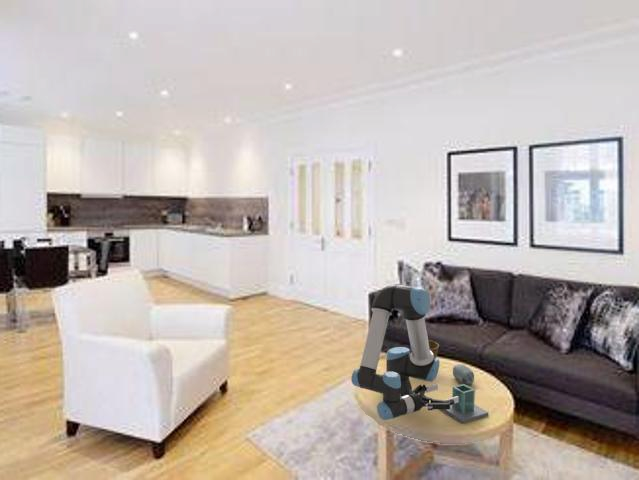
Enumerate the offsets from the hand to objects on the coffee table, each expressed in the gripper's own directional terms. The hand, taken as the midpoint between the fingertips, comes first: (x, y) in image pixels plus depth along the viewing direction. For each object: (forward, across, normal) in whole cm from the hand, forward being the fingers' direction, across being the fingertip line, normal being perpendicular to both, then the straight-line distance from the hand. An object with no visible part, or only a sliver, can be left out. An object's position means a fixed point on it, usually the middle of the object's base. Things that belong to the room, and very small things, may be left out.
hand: (447, 392), depth 202 cm
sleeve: (+10, 0, -10) cm, 14 cm away
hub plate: (+10, 0, -12) cm, 15 cm away
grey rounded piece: (+34, -25, -13) cm, 44 cm away
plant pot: (+24, -45, -13) cm, 53 cm away
